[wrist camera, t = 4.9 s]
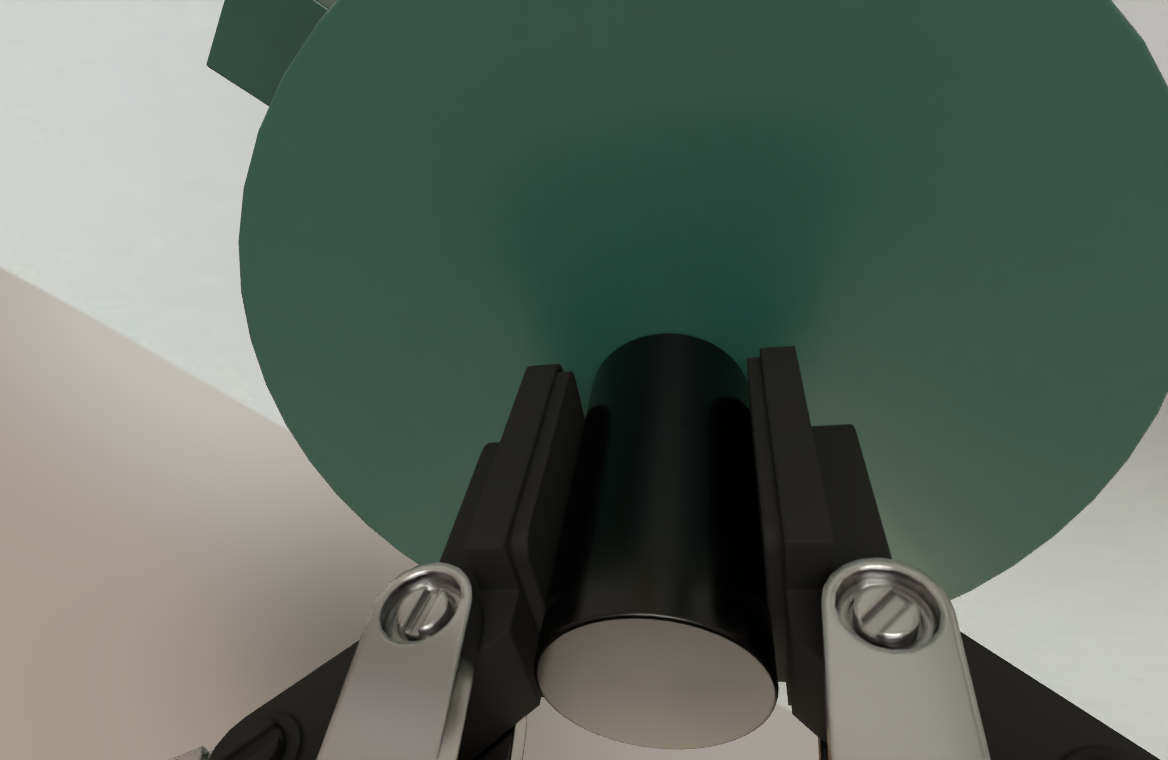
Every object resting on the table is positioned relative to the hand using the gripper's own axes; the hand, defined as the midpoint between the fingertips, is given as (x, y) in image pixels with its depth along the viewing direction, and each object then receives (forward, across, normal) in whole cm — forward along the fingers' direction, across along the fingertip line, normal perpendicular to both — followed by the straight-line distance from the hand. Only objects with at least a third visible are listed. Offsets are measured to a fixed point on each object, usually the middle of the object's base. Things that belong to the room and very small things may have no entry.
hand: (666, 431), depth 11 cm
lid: (+1, 0, 0) cm, 1 cm away
